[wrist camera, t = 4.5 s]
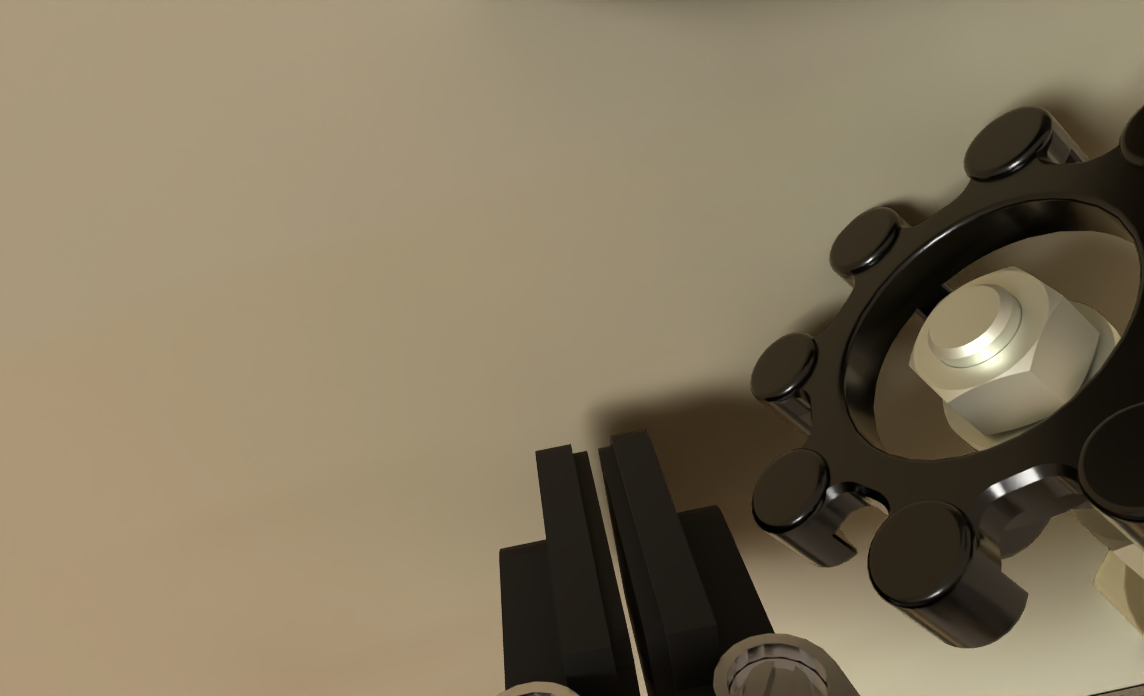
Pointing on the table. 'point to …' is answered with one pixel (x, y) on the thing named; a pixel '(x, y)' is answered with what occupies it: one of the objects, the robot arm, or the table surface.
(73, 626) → the table surface
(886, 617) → the table surface
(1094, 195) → the valve
